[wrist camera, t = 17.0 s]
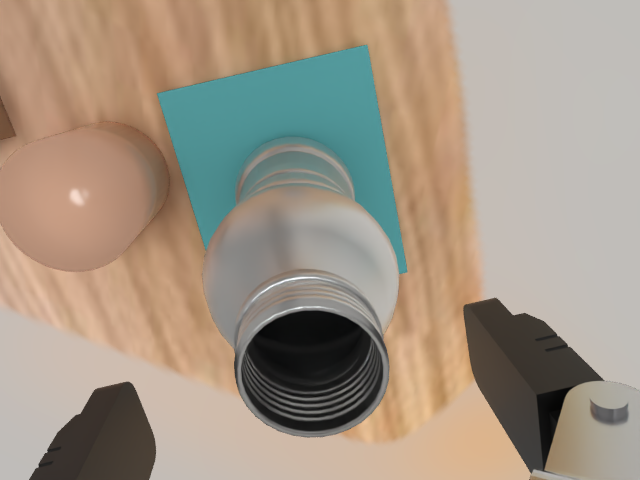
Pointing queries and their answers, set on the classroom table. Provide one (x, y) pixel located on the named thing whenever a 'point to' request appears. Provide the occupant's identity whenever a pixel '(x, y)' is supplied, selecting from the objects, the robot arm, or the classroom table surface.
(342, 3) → the classroom table surface
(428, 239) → the classroom table surface
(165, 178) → the beige domed cylinder
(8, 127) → the walnut block
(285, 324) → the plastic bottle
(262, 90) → the teal mat
